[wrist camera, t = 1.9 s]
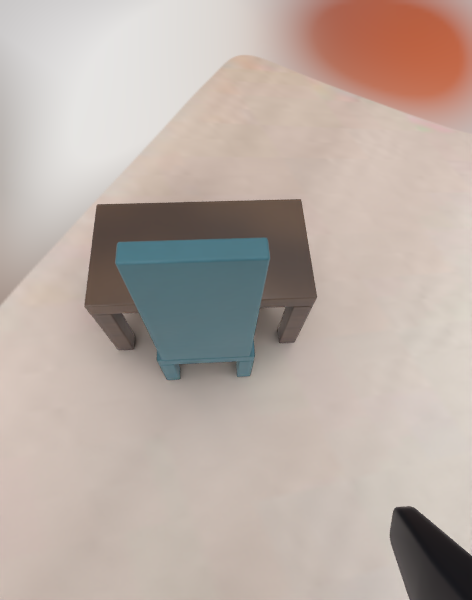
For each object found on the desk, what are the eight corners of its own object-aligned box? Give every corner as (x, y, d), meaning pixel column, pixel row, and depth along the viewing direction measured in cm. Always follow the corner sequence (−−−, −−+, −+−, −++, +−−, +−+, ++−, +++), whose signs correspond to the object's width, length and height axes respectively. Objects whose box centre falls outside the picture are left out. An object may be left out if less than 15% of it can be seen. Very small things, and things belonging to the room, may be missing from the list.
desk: (294, 342, 25) (317, 297, 19) (117, 350, 24) (83, 306, 18) (284, 260, 27) (301, 198, 21) (124, 266, 27) (96, 203, 21)
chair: (250, 376, 24) (279, 258, 11) (166, 380, 23) (105, 264, 11) (244, 301, 26) (264, 135, 14) (168, 304, 25) (117, 137, 13)
